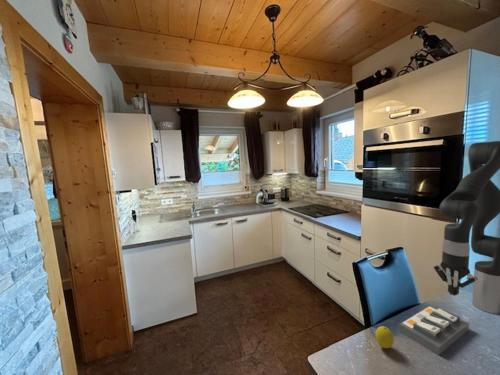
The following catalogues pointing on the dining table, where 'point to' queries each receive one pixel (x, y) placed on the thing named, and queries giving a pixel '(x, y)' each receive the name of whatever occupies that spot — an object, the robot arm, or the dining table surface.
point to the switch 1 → (429, 327)
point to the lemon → (384, 337)
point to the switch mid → (438, 321)
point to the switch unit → (428, 338)
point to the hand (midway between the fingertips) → (453, 294)
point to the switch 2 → (446, 314)
